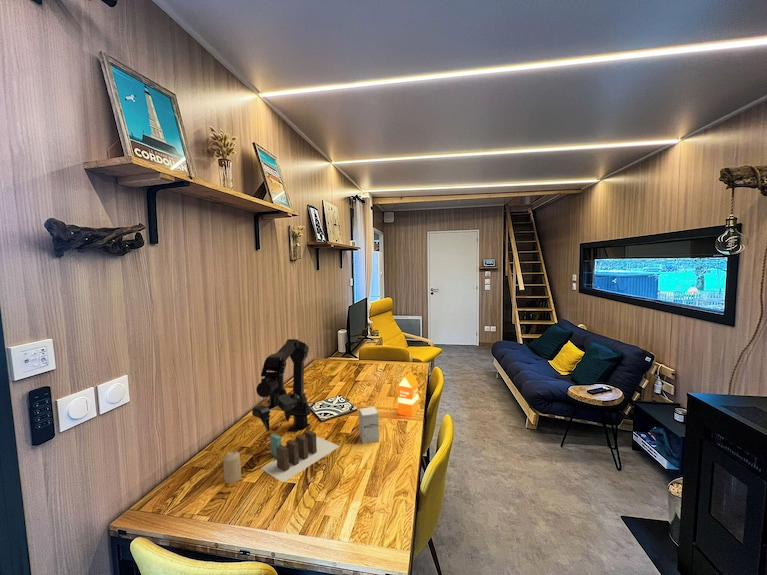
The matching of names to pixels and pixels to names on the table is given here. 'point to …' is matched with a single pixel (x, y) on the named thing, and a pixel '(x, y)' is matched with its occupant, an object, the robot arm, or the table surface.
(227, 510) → the table surface
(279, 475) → the mat
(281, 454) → the domino
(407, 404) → the orange juice
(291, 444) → the domino
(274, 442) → the domino
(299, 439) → the domino
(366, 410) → the supplement box
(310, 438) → the domino
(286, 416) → the robot arm
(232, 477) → the candle
